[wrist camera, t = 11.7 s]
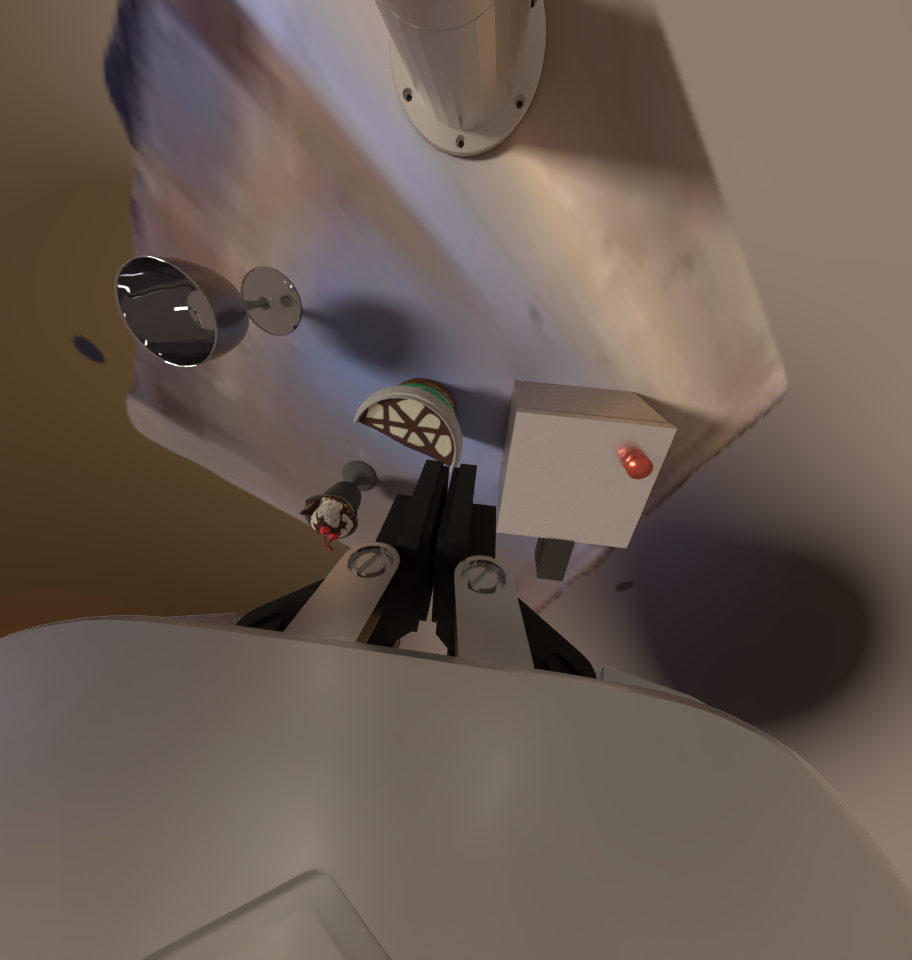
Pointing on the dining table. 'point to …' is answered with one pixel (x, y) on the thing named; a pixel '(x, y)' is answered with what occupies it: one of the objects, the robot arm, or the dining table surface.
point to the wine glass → (200, 307)
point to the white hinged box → (572, 411)
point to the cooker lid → (578, 480)
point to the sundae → (340, 503)
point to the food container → (416, 418)
